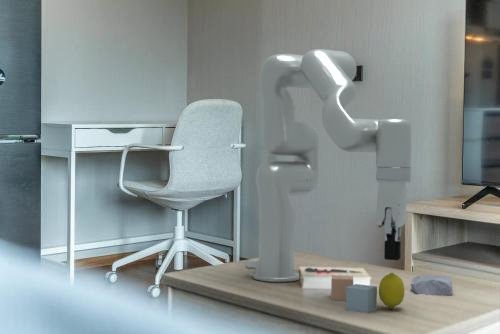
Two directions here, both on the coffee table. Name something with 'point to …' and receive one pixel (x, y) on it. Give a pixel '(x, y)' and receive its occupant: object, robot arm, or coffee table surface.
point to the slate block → (361, 298)
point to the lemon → (391, 290)
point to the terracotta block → (340, 286)
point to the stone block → (432, 285)
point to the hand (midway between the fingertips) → (392, 259)
